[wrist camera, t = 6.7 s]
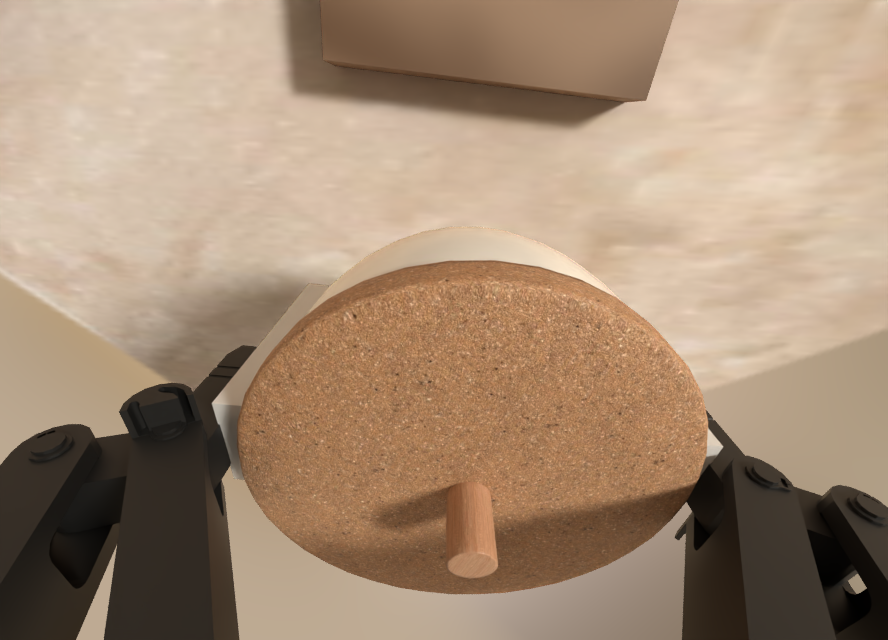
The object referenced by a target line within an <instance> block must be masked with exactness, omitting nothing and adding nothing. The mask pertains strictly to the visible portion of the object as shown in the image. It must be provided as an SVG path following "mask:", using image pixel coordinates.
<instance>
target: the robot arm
mask: <svg viewBox="0 0 888 640" xmlns="http://www.w3.org/2000/svg"><path fill="white" fill-rule="evenodd" d="M328 288H329V285H319V284H308V285H307V286H306V288H305V289H304V290H303V291H302V292H301V294H300V295H299V296H298V297H297V299H296V300H295V301H294V302H293V304H292V305H291V306H290V307H289V309H288V310H287V311H286V312H285V313H284V315H283V316H282V317H281V318H280V320H279V321H278V322H277V323H276V325H275V326H274V327H273V328H272V330H271V331H270V332H269V333H268V334H267V336H266V337H265V338H264V339H263V341H262V342H261V343H260V344H259V346H258V347H254V346H241V347H239V348H237V349H236V350H234V351H232V352H231V353H229V354H227V355H226V356H225V358H224V359H223V360H222V361H221V362H220V363H219V364H218V365H217V368H215V369H214V370H213V371H212V372H211V373H210V374H209V377H206V379H205V380H204V381H203V382H202V383H201V384H200V385H199V386H198V387H197V388H196V390H195V391H194V392H192V390H191V388H190V387H188V386H186V385H184V384H178V383H167V384H159V385H156V386H153V387H150V388H147V389H144V390H142V391H140V392H139V393H137V394H135V395H133V396H132V397H131V398H129V399H128V400H127V401H126V402H125V403H124V404H123V406H122V408H121V409H120V411H119V413H120V415H121V417H122V419H123V421H124V423H125V425H126V427H127V429H128V431H129V433H128V434H121V435H114V436H107V437H101V438H95V437H94V435H93V433H92V431H91V429H90V428H89V427H87V426H84V425H81V424H68V425H63V426H59V427H54V428H51V429H49V430H46V431H43V432H41V433H38V434H36V435H34V436H33V437H31V438H29V439H28V440H26V441H24V442H22V443H21V444H20V445H19V446H18V447H17V448H15V449H14V450H13V451H12V452H11V453H10V454H9V456H8V457H7V458H6V459H5V460H4V461H3V463H2V464H1V465H0V640H76V638H77V636H78V634H79V631H80V629H81V627H82V624H83V622H84V620H85V617H86V615H87V613H88V610H89V608H90V606H91V603H92V601H93V599H94V596H95V594H96V591H97V589H98V587H99V585H100V582H101V580H102V578H103V575H104V573H105V571H106V568H107V566H108V564H109V561H110V559H111V557H112V554H113V552H114V550H115V548H116V545H117V549H116V558H115V564H114V571H113V578H112V585H111V592H110V599H109V606H108V614H107V621H106V628H105V635H104V640H239V631H238V622H237V612H236V602H235V592H234V581H233V572H232V562H231V552H230V542H229V532H228V522H227V512H226V502H225V492H224V486H223V483H222V478H223V476H224V475H225V473H226V471H227V470H228V468H229V467H230V466H231V469H232V473H233V476H234V479H242V480H245V479H244V477H243V474H242V469H241V465H240V460H239V455H238V450H237V420H238V417H239V413H240V410H241V406H242V403H243V399H244V395H245V393H246V391H247V389H248V388H249V386H250V384H251V382H252V380H253V379H254V377H255V375H256V373H257V372H258V370H259V368H260V366H261V365H262V364H263V362H264V361H265V359H266V358H267V357H268V355H269V354H270V353H271V351H272V350H273V349H274V348H275V347H276V346H277V344H278V343H279V342H280V341H281V340H282V339H283V338H284V337H285V336H286V334H287V333H288V332H289V331H290V330H291V329H292V328H293V327H294V326H295V324H296V323H297V322H298V321H299V320H301V319H302V318H303V317H304V316H305V315H306V314H307V312H308V311H309V310H310V309H311V307H312V306H313V305H314V304H315V303H316V302H317V301H318V299H319V298H320V297H321V296H322V295H323V294H324V293H325V292H326V291H327V289H328ZM706 414H707V419H708V437H707V454H706V458H705V461H704V464H703V467H702V470H701V473H700V477H699V479H698V481H697V483H696V485H695V487H694V489H693V491H692V493H691V494H690V496H689V498H688V500H687V501H686V502H687V503H688V505H689V507H690V508H691V510H692V513H691V514H690V516H689V517H688V518H687V519H686V521H685V522H684V523H683V525H682V526H681V527H680V529H679V530H678V531H677V533H676V535H675V538H676V539H677V540H680V538H681V537H682V536H683V535H684V534H686V543H685V544H686V549H685V577H684V602H683V603H684V604H683V629H682V640H888V507H886V506H885V505H883V504H882V503H881V502H880V501H879V500H877V499H875V498H874V497H871V496H870V495H868V494H866V493H864V492H861V491H859V490H856V489H854V488H851V487H847V486H842V485H838V486H834V487H832V488H831V489H829V491H827V492H826V493H825V494H824V495H823V496H820V495H818V494H815V493H811V492H808V491H805V490H802V489H799V488H796V487H793V485H792V483H791V482H790V481H789V480H788V479H787V478H786V477H785V476H784V475H783V474H782V473H781V472H779V471H778V470H777V469H775V468H774V467H773V466H771V465H769V464H767V463H765V462H764V461H762V460H760V459H757V458H754V457H750V456H745V455H744V454H743V453H742V452H741V450H740V449H739V448H738V447H737V446H736V445H735V444H734V442H733V441H732V440H731V439H730V438H729V436H728V435H727V434H726V433H725V432H724V430H722V428H721V427H720V426H719V425H718V424H717V422H716V421H715V420H713V418H712V417H711V415H710V414H709V413H708V412H707V411H706ZM856 574H859V576H860V577H861V579H862V581H863V582H864V584H865V586H866V587H867V589H865V590H864V591H863V592H861V593H859V594H856V593H855V592H854V590H853V589H852V587H851V586H850V584H849V582H848V580H849V579H851V578H852V577H853V576H855V575H856Z"/></svg>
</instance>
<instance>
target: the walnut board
mask: <svg viewBox="0 0 888 640" xmlns="http://www.w3.org/2000/svg"><path fill="white" fill-rule="evenodd" d="M678 1H679V0H320V11H321V31H322V51H323V60H324V61H326V62H329V63H331V64H333V65H335V66H341V67H349V68H357V69H365V70H373V71H381V72H389V73H397V74H405V75H413V76H421V77H429V78H437V79H445V80H453V81H461V82H469V83H477V84H485V85H493V86H501V87H509V88H517V89H525V90H533V91H540V92H548V93H556V94H564V95H572V96H580V97H588V98H596V99H604V100H612V101H620V102H634V101H646V99H647V96H648V93H649V90H650V87H651V84H652V81H653V78H654V74H655V71H656V68H657V65H658V62H659V59H660V56H661V53H662V50H663V47H664V44H665V41H666V38H667V35H668V31H669V28H670V25H671V22H672V19H673V16H674V13H675V10H676V7H677V4H678Z"/></svg>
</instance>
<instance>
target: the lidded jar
mask: <svg viewBox="0 0 888 640" xmlns="http://www.w3.org/2000/svg"><path fill="white" fill-rule="evenodd" d="M707 437H708V419H707V414H706V409H705V405H704V400H703V395H702V393H701V391H700V389H699V387H698V385H697V383H696V381H695V379H694V377H693V375H692V373H691V371H690V369H689V367H688V366H687V365H686V364H685V362H684V361H683V360H682V359H681V358H680V357H679V355H678V354H677V353H676V352H675V351H674V350H673V348H672V347H671V346H670V345H669V344H668V342H667V341H666V340H665V339H664V338H663V337H662V336H661V334H660V333H659V332H658V331H657V330H656V329H655V328H654V327H653V326H652V325H651V324H650V323H649V322H647V321H646V320H645V319H644V318H642V317H641V316H640V315H638V314H637V313H636V312H635V311H633V310H632V309H631V308H629V307H628V306H627V305H625V304H624V303H623V302H622V301H621V300H620V299H619V298H618V297H617V296H616V295H615V294H614V293H613V292H612V291H611V290H610V289H609V288H608V287H607V286H606V285H605V284H603V283H602V282H601V281H600V280H598V279H597V278H596V277H595V276H593V275H592V274H591V273H589V272H588V271H587V270H585V269H584V268H583V267H582V266H580V265H579V264H577V263H576V262H574V261H573V260H572V259H570V258H569V257H567V256H566V255H564V254H562V253H560V252H558V251H556V250H554V249H552V248H550V247H548V246H546V245H545V244H543V243H541V242H538V241H535V240H532V239H529V238H526V237H523V236H520V235H517V234H513V233H510V232H507V231H503V230H497V229H490V228H483V227H448V228H442V229H435V230H429V231H424V232H421V233H418V234H415V235H412V236H409V237H406V238H403V239H400V240H398V241H396V242H393V243H391V244H389V245H388V246H386V247H384V248H382V249H380V250H378V251H376V252H374V253H372V254H370V255H369V256H367V257H365V258H364V259H363V260H361V261H360V262H359V263H358V264H356V265H355V266H354V267H352V268H351V269H350V270H348V271H347V272H346V273H345V274H343V275H342V276H341V277H340V278H339V279H338V280H336V281H335V282H334V283H333V284H332V285H331V286H330V287H329V288H328V289H327V291H326V292H325V293H324V294H323V295H322V296H321V297H320V298H319V299H318V301H317V302H316V303H315V304H314V305H313V306H312V307H311V309H310V310H309V311H308V312H307V314H306V315H305V316H304V317H303V318H302V319H301V320H299V321H298V322H297V323H296V324H295V326H294V327H293V328H292V329H291V330H290V331H289V332H288V333H287V334H286V336H285V337H284V338H283V339H282V340H281V341H280V342H279V343H278V344H277V346H276V347H275V348H274V349H273V350H272V351H271V353H270V354H269V355H268V357H267V358H266V359H265V361H264V362H263V364H262V365H261V366H260V368H259V370H258V372H257V373H256V375H255V377H254V379H253V380H252V382H251V384H250V386H249V388H248V389H247V391H246V393H245V395H244V399H243V403H242V406H241V410H240V413H239V417H238V420H237V450H238V455H239V460H240V465H241V469H242V474H243V477H244V479H245V481H246V483H247V486H248V488H249V490H250V492H251V494H252V496H253V498H254V499H255V501H256V502H257V503H258V505H259V507H260V508H261V509H262V511H263V512H264V514H265V515H266V517H267V518H268V519H269V520H270V521H271V522H272V523H273V524H274V525H275V526H277V527H278V529H280V531H282V532H283V533H284V534H285V535H286V536H287V537H288V538H290V539H291V540H292V541H294V542H295V543H296V544H298V545H299V546H300V547H301V548H303V549H304V550H306V551H308V552H309V553H311V554H313V555H314V556H316V557H318V558H320V559H321V560H323V561H325V562H327V563H329V564H331V565H333V566H336V567H338V568H340V569H342V570H344V571H346V572H349V573H351V574H354V575H357V576H360V577H363V578H367V579H369V580H373V581H376V582H380V583H384V584H388V585H391V586H395V587H400V588H405V589H412V590H418V591H425V592H436V593H446V594H488V593H505V592H512V591H519V590H525V589H531V588H536V587H540V586H545V585H550V584H555V583H559V582H562V581H565V580H568V579H571V578H574V577H577V576H580V575H583V574H586V573H588V572H591V571H593V570H596V569H598V568H601V567H603V566H606V565H608V564H610V563H612V562H613V561H615V560H617V559H619V558H621V557H622V556H624V555H626V554H628V553H630V552H631V551H633V550H634V549H636V548H637V547H639V546H640V545H642V544H643V543H645V542H646V541H648V540H649V539H651V538H652V537H653V536H654V535H655V534H656V533H658V532H659V531H660V530H661V529H662V528H663V527H664V526H665V525H666V524H667V523H668V522H669V521H670V520H671V519H672V518H673V517H674V516H675V514H676V513H677V512H678V511H679V510H680V509H681V507H682V506H683V505H684V504H685V503H686V501H687V500H688V498H689V496H690V494H691V493H692V491H693V489H694V487H695V485H696V483H697V481H698V479H699V477H700V473H701V470H702V467H703V464H704V461H705V458H706V454H707Z"/></svg>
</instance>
